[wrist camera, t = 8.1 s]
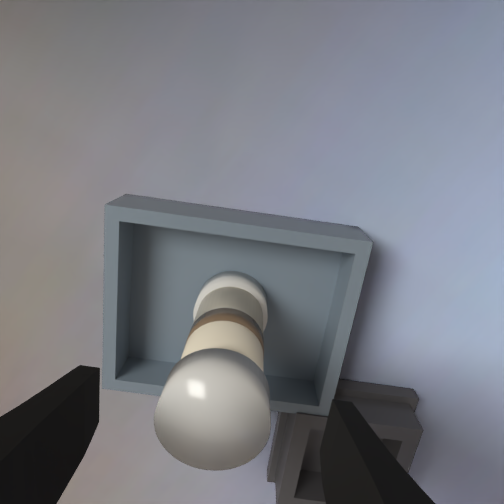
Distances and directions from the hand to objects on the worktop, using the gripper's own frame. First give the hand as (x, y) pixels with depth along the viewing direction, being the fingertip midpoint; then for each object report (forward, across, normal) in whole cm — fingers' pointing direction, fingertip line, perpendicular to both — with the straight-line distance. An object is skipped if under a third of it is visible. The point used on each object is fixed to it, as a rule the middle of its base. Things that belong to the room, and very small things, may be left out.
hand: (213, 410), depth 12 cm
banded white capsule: (+7, 0, 0) cm, 7 cm away
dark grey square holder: (+8, -7, +7) cm, 13 cm away
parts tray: (+8, 0, 0) cm, 8 cm away
